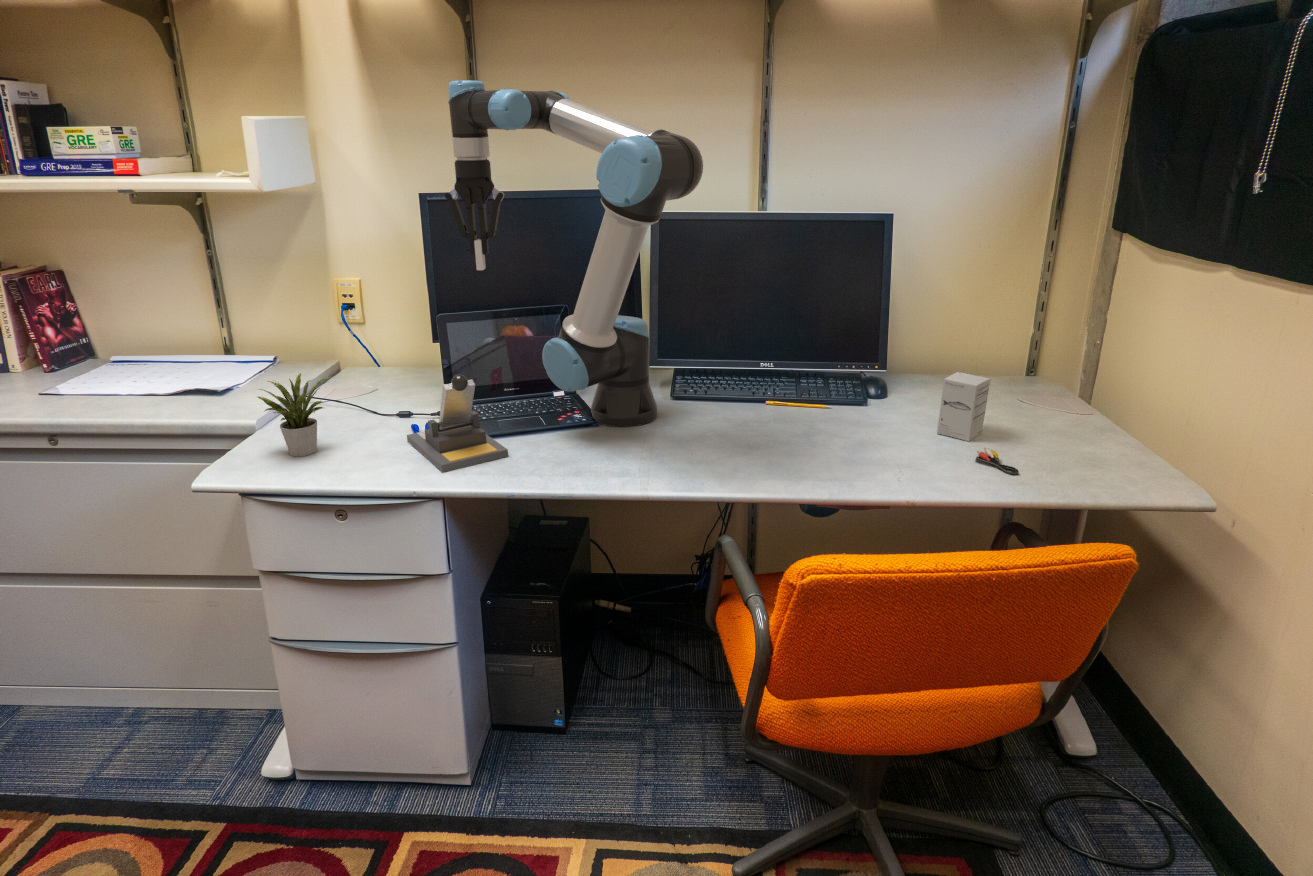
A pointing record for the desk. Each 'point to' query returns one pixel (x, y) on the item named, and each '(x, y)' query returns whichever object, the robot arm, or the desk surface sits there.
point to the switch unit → (457, 445)
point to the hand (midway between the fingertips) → (481, 269)
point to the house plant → (297, 417)
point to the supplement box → (963, 406)
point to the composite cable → (994, 461)
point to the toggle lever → (456, 404)
